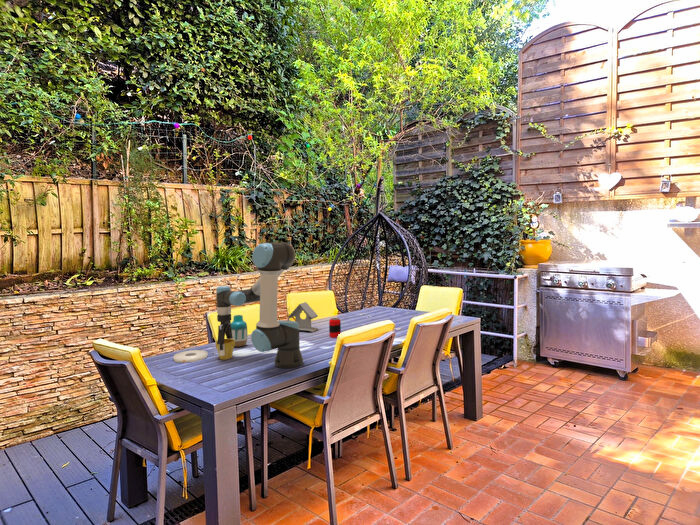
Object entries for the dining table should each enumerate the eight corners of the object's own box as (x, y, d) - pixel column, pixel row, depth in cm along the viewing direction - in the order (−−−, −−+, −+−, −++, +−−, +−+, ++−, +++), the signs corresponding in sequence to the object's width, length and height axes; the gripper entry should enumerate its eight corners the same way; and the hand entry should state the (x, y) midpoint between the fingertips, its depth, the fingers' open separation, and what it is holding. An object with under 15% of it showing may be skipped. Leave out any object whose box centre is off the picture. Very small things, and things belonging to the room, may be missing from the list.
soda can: (340, 335, 291) (340, 317, 291) (340, 337, 284) (340, 319, 283) (329, 335, 291) (329, 317, 290) (329, 338, 284) (329, 320, 283)
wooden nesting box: (318, 330, 307) (317, 302, 306) (311, 333, 299) (311, 304, 297) (295, 328, 314) (294, 301, 313) (288, 331, 306) (288, 303, 304)
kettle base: (200, 362, 234) (200, 359, 233) (167, 362, 234) (167, 359, 234) (212, 353, 252) (212, 350, 251) (182, 353, 252) (181, 350, 252)
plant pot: (229, 361, 236) (229, 343, 235) (212, 360, 238) (212, 342, 237) (238, 355, 246) (237, 338, 245) (221, 354, 248) (221, 338, 248)
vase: (226, 347, 264) (225, 316, 262) (236, 343, 274) (235, 313, 272) (241, 349, 260) (240, 317, 259) (251, 344, 270) (250, 314, 269)
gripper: (224, 310, 252) (225, 347, 254) (209, 318, 229) (211, 358, 230) (237, 310, 252) (238, 347, 253) (223, 317, 229) (225, 358, 230)
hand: (225, 352), depth 242 cm, fingers open, 11 cm apart
